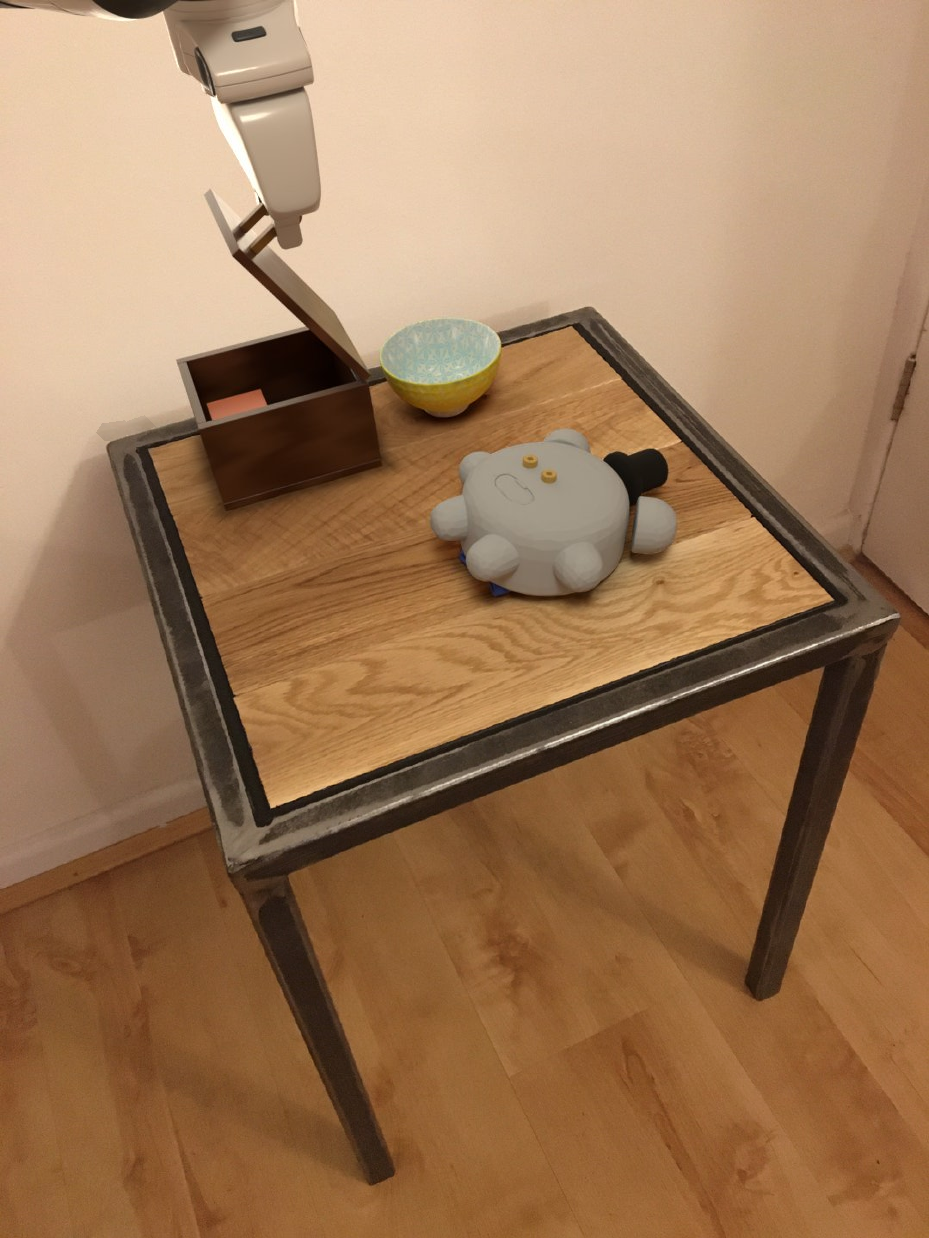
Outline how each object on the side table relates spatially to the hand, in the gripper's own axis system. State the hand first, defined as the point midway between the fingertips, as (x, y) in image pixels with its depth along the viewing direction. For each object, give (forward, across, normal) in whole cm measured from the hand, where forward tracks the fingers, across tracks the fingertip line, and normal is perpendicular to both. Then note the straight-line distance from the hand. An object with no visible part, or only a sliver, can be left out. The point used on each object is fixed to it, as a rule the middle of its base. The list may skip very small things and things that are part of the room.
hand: (280, 227), depth 75 cm
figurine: (+21, +22, +14) cm, 33 cm away
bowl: (+21, -1, +12) cm, 24 cm away
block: (+20, 0, -7) cm, 21 cm away
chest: (+21, 0, -4) cm, 21 cm away
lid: (+5, 0, -1) cm, 5 cm away
